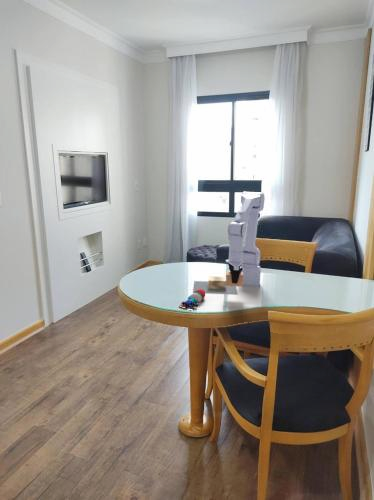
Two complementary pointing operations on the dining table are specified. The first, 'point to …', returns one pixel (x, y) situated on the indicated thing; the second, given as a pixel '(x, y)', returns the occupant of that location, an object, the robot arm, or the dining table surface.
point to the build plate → (205, 284)
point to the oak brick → (217, 282)
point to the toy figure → (194, 298)
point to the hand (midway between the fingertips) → (234, 281)
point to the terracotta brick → (229, 280)
